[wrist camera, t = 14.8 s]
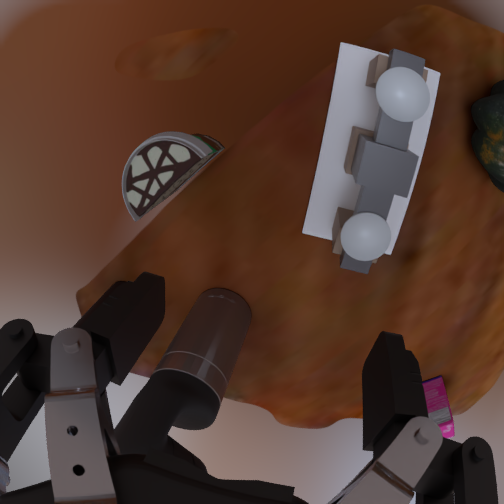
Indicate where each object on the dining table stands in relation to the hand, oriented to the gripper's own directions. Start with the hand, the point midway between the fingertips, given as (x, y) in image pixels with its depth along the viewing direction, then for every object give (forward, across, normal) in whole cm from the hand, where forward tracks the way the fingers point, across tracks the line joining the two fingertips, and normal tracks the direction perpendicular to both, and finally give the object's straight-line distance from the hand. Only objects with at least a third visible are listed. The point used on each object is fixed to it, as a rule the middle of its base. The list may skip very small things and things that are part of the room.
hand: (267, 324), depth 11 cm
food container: (+30, +16, +2) cm, 34 cm away
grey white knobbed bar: (+25, -7, -3) cm, 26 cm away
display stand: (+30, -7, -3) cm, 31 cm away
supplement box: (+30, -33, +34) cm, 56 cm away
